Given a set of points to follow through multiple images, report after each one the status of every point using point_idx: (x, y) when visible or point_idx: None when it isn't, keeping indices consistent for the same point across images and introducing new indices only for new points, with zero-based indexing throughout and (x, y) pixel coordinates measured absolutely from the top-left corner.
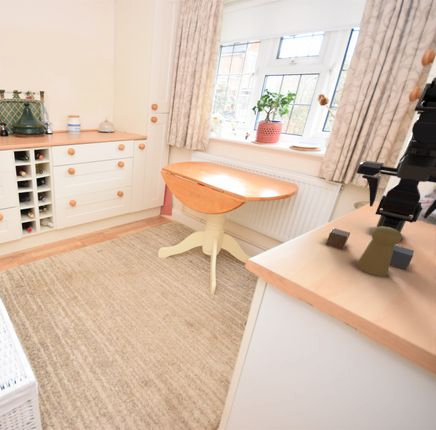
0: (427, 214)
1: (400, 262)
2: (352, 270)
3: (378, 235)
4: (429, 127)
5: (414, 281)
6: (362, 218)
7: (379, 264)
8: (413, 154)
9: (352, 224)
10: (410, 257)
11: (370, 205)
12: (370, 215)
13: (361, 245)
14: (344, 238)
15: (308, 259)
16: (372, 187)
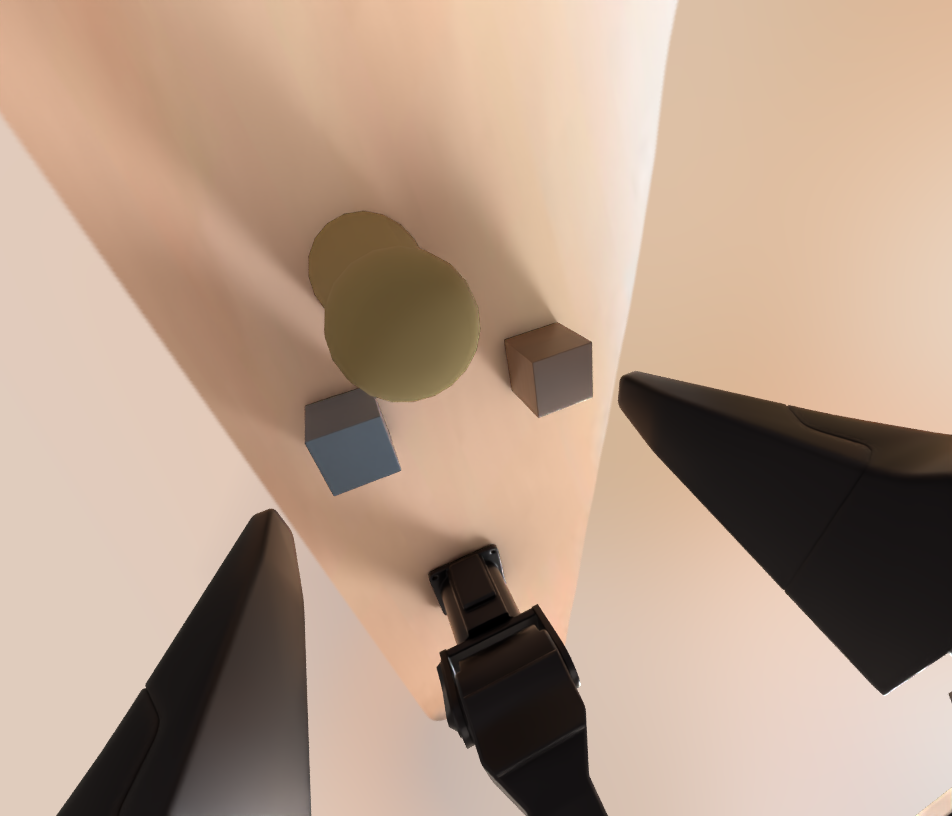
0: (247, 543)
1: (330, 409)
2: (400, 166)
3: (423, 252)
4: None
5: (228, 335)
6: (546, 606)
7: (336, 235)
8: None
9: (550, 550)
10: (309, 434)
11: (635, 372)
12: None
13: (479, 443)
14: (534, 355)
15: (556, 69)
16: (864, 435)
